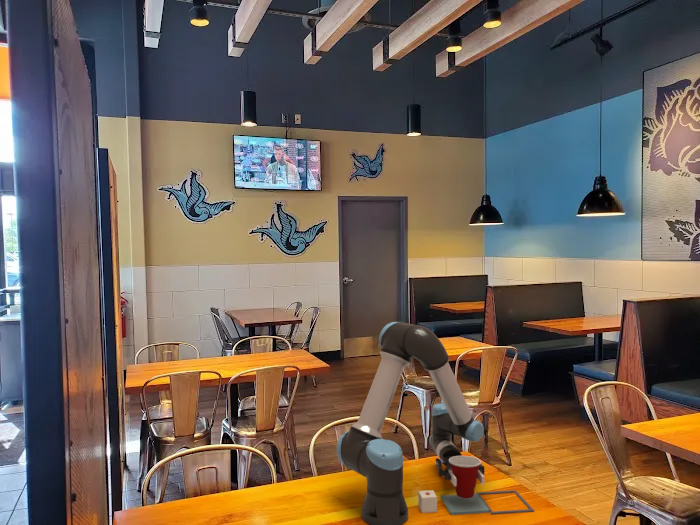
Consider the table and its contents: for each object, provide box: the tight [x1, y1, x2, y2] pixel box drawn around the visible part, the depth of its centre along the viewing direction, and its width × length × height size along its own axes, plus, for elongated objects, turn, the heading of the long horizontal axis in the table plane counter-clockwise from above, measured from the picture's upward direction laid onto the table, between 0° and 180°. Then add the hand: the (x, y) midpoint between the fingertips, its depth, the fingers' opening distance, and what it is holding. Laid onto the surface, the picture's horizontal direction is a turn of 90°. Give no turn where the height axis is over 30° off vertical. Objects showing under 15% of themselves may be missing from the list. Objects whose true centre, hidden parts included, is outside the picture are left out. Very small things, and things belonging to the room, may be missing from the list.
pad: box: [440, 492, 490, 516], centre depth 185 cm, size 13×12×1 cm
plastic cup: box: [449, 455, 482, 498], centre depth 184 cm, size 11×11×12 cm
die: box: [417, 489, 438, 514], centre depth 182 cm, size 5×5×5 cm
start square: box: [476, 489, 535, 515], centre depth 186 cm, size 15×15×1 cm
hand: (469, 481), depth 180 cm, fingers closed on plastic cup, 9 cm apart
